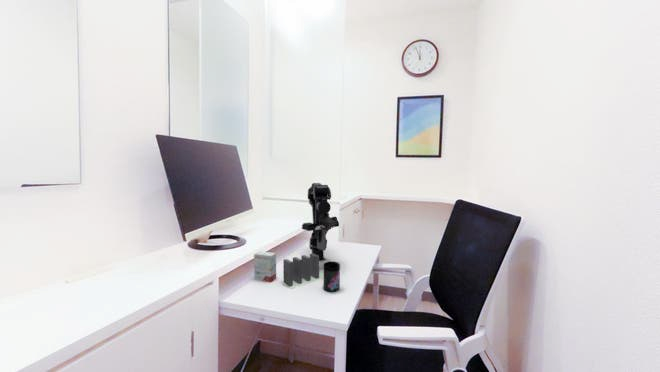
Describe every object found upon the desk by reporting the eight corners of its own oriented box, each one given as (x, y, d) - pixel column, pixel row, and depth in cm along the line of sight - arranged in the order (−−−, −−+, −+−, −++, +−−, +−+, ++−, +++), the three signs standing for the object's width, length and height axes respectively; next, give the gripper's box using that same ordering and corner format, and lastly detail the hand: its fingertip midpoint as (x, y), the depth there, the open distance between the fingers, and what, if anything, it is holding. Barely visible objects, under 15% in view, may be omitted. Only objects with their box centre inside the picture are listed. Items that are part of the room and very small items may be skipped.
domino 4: (309, 275, 130) (309, 253, 129) (312, 274, 131) (312, 253, 130) (316, 278, 126) (316, 256, 125) (319, 277, 127) (319, 255, 126)
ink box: (276, 278, 126) (276, 252, 125) (271, 283, 122) (271, 256, 121) (260, 276, 129) (259, 250, 128) (253, 280, 125) (253, 253, 124)
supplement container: (324, 293, 112) (324, 267, 111) (322, 286, 119) (322, 261, 118) (341, 292, 113) (341, 266, 112) (338, 285, 120) (338, 261, 119)
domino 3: (301, 277, 127) (301, 255, 126) (304, 276, 128) (304, 255, 127) (307, 281, 123) (307, 258, 122) (310, 280, 124) (310, 257, 123)
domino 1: (283, 282, 121) (283, 259, 121) (286, 281, 122) (286, 258, 122) (289, 286, 117) (289, 262, 117) (292, 285, 118) (292, 262, 118)
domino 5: (316, 248, 141) (317, 228, 140) (319, 247, 142) (319, 227, 141) (323, 250, 137) (323, 230, 136) (325, 250, 138) (325, 229, 137)
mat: (280, 281, 123) (280, 281, 123) (325, 269, 138) (325, 269, 138) (291, 289, 116) (291, 288, 116) (336, 275, 131) (337, 274, 131)
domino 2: (292, 280, 124) (292, 257, 123) (295, 279, 125) (295, 256, 124) (298, 283, 120) (298, 260, 120) (301, 283, 121) (302, 259, 121)
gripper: (315, 214, 126) (314, 249, 127) (346, 210, 138) (346, 242, 139) (301, 211, 135) (301, 243, 136) (332, 208, 147) (331, 238, 148)
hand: (320, 242), depth 139 cm, fingers closed on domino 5, 2 cm apart
